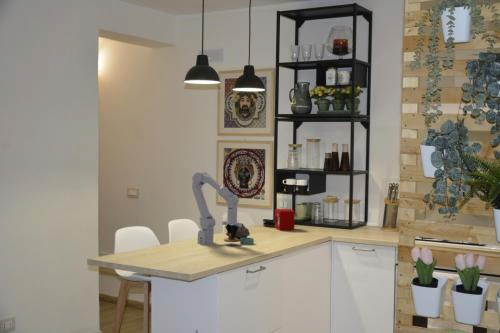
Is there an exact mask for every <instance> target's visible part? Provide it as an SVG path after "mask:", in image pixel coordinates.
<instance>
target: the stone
mask: <svg viewBox="0 0 500 333" xmlns="http://www.w3.org/2000/svg"><path fill="white" fill-rule="evenodd" d="M250 234H251V233H250V231H249V229H248V228H247V227H246V226H245V225H244V223H242V227H239V228H238V230H237V232H236V235H235V239H239V241H240V238H249V237H248V236H250ZM225 235H226V236H227V237H228V232H227V231H226V233H225Z"/></svg>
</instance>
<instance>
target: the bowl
mask: <svg viewBox="0 0 500 333" xmlns="http://www.w3.org/2000/svg"><path fill="white" fill-rule="evenodd" d="M239 243H240V245H242V246H244V245H245V246H247V245H248V246H250V245H251V246H252V245H254V237H247V238H240V240H239Z"/></svg>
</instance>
